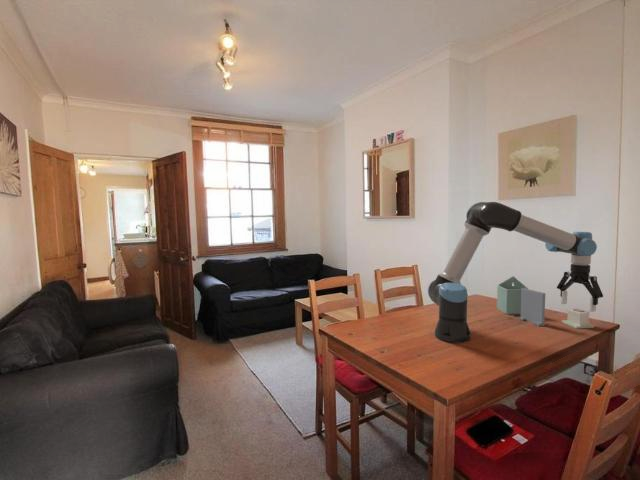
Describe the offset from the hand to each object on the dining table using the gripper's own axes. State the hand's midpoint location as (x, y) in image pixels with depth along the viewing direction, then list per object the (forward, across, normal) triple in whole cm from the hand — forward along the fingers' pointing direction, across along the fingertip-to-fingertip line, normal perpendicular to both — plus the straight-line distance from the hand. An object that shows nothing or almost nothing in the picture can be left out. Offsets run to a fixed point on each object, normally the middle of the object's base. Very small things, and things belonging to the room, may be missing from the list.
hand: (577, 307), depth 166 cm
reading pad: (+9, 0, -1) cm, 9 cm away
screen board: (+9, +11, +16) cm, 21 cm away
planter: (+9, +27, +13) cm, 31 cm away
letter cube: (+8, 0, -1) cm, 8 cm away
